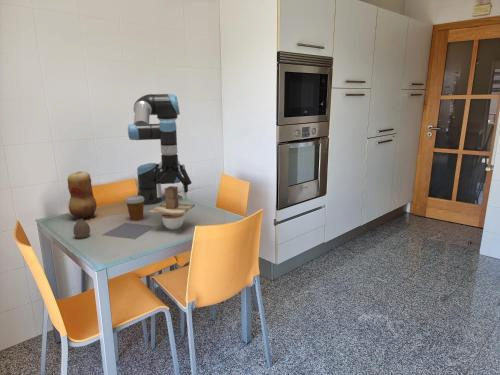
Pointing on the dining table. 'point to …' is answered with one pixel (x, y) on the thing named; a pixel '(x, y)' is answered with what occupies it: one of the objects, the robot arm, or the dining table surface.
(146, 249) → the dining table surface
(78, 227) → the vase
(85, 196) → the butternut squash
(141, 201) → the disposable coffee cup
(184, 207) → the oak lid
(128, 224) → the rubber mat
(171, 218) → the lidded jar
